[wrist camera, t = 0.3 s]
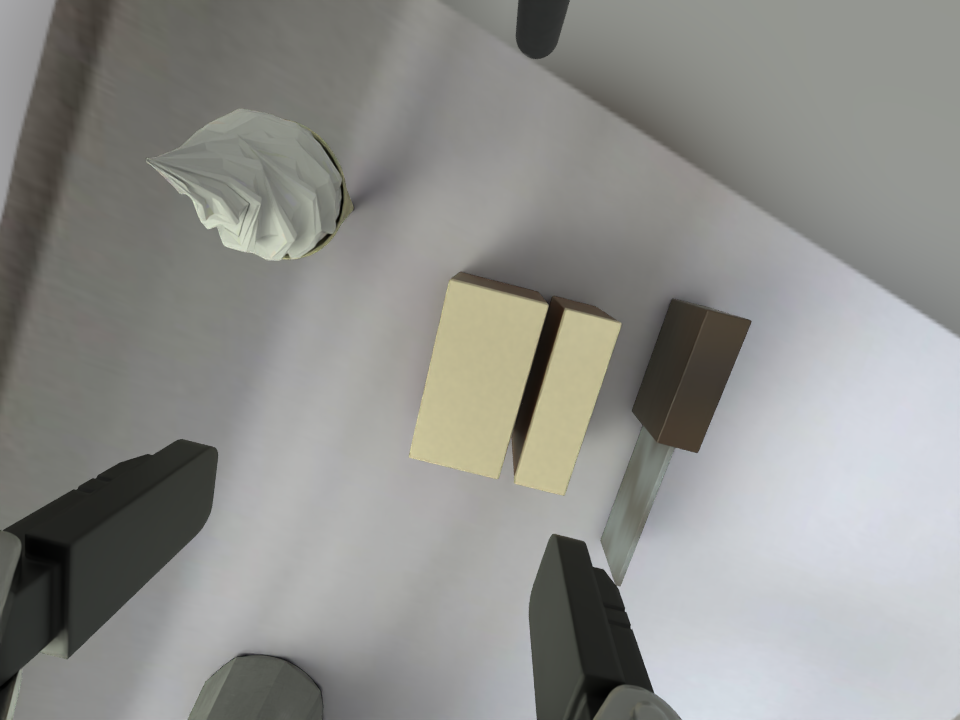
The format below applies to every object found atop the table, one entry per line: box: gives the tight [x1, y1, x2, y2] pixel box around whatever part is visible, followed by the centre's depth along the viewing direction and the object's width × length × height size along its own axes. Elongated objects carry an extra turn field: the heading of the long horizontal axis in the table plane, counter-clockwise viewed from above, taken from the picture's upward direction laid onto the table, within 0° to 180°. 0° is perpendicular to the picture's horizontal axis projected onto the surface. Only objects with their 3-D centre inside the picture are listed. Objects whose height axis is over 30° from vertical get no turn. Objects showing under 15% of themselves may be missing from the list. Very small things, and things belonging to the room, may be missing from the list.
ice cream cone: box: [146, 108, 354, 260], centre depth 18 cm, size 5×5×15 cm
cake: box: [409, 272, 549, 479], centre depth 24 cm, size 9×5×6 cm, turn 166°
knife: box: [601, 298, 751, 586], centre depth 25 cm, size 16×2×4 cm, turn 166°
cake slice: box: [512, 296, 622, 496], centre depth 24 cm, size 9×3×6 cm, turn 166°
